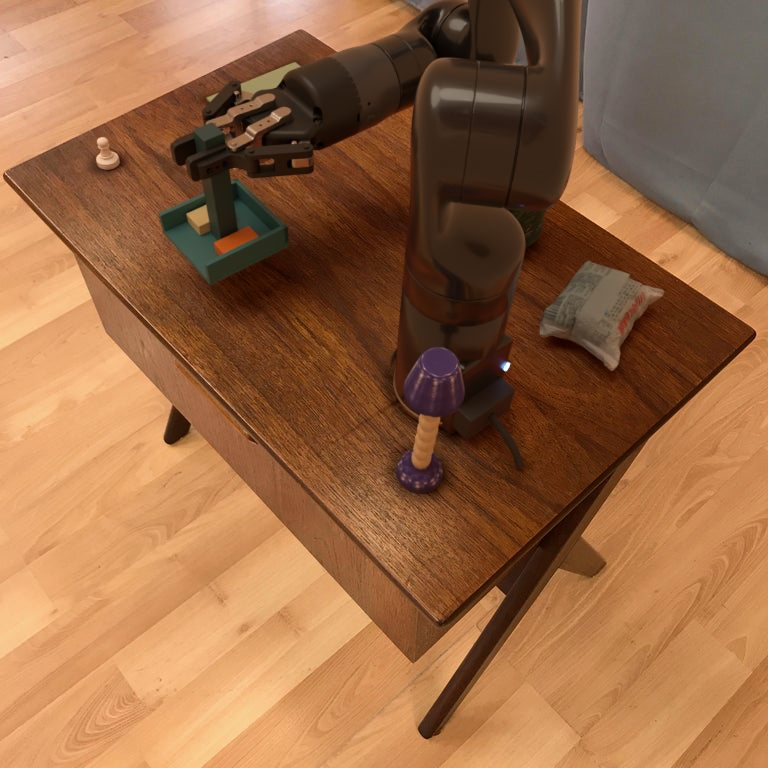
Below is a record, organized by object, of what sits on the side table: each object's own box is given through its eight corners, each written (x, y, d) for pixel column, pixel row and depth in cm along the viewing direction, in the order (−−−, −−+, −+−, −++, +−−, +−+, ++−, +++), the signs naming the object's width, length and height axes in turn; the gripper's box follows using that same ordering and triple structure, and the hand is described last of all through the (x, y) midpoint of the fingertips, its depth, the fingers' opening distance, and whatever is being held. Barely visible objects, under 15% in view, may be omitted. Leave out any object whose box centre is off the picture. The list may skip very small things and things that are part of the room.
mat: (359, 114, 102) (359, 111, 102) (269, 155, 96) (268, 152, 96) (295, 64, 108) (295, 61, 108) (206, 100, 103) (206, 97, 102)
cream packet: (235, 219, 80) (233, 210, 79) (200, 236, 78) (198, 226, 77) (222, 206, 81) (220, 197, 80) (187, 222, 79) (185, 213, 78)
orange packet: (263, 248, 78) (262, 239, 77) (228, 265, 76) (226, 256, 75) (249, 234, 79) (248, 225, 78) (214, 251, 77) (213, 242, 76)
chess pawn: (92, 165, 94) (85, 140, 91) (107, 153, 95) (100, 129, 93) (109, 173, 93) (102, 148, 90) (124, 161, 95) (117, 136, 92)
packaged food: (656, 310, 84) (671, 276, 80) (608, 382, 78) (621, 350, 74) (581, 275, 86) (592, 241, 83) (529, 342, 80) (538, 309, 77)
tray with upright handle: (289, 246, 79) (280, 138, 69) (210, 285, 75) (189, 177, 65) (240, 198, 83) (225, 89, 73) (162, 233, 79) (135, 124, 69)
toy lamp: (457, 477, 71) (484, 360, 57) (422, 509, 69) (440, 397, 55) (418, 443, 73) (435, 324, 59) (382, 474, 70) (391, 357, 57)
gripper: (297, 27, 76) (133, 87, 69) (387, 95, 70) (217, 168, 63) (301, 96, 82) (150, 158, 75) (384, 165, 76) (228, 239, 69)
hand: (182, 163), depth 69 cm, fingers closed on tray with upright handle
